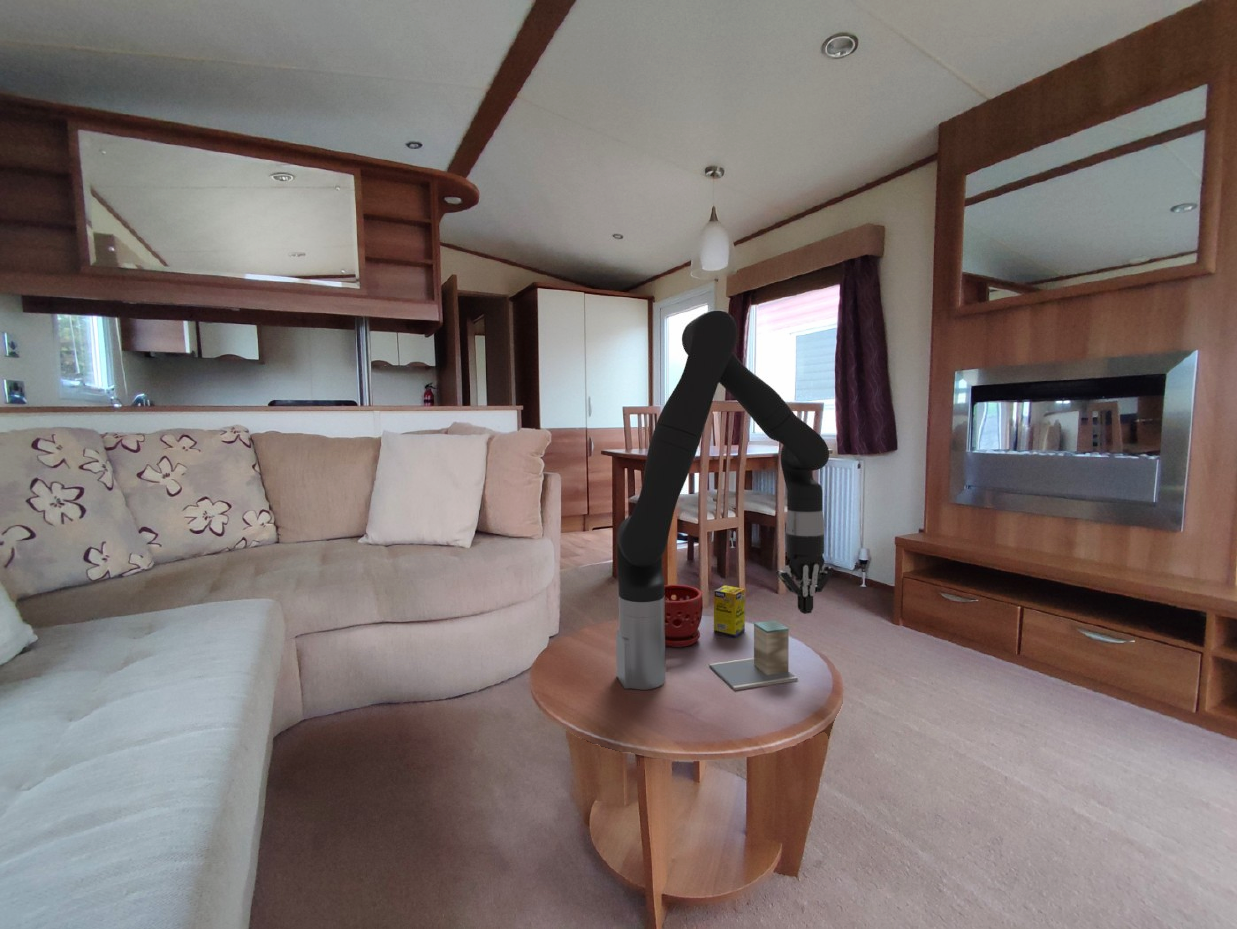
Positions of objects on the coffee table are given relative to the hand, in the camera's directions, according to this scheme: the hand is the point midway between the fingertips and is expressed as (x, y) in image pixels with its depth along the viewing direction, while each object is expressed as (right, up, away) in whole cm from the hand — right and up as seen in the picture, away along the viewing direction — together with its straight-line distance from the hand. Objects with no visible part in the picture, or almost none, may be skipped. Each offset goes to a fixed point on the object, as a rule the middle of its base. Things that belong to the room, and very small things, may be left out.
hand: (805, 612), depth 109 cm
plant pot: (-26, -11, +15) cm, 32 cm away
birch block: (-8, -11, -2) cm, 14 cm away
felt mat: (-12, -12, -3) cm, 17 cm away
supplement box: (-12, -11, +20) cm, 26 cm away
